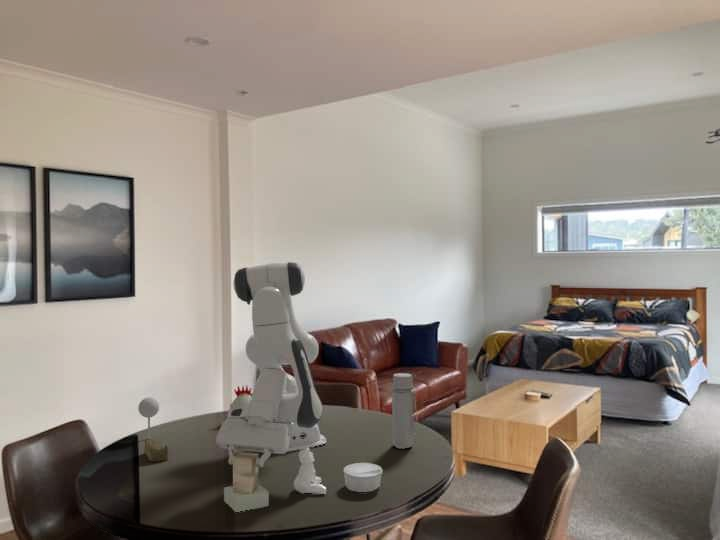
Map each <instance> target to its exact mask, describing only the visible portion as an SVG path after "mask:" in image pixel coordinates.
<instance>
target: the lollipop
mask: <svg viewBox="0 0 720 540" xmlns="http://www.w3.org/2000/svg"><path fill="white" fill-rule="evenodd" d="M159 411H160V403H159V402H158V400H157V399H156V398H154V397H145V398H143V399H142V400H141V401H140V402H139V404H138V413H139V415H140V416H142V417H144V418H147V440H150V439H151V422H150V421H151V418H153V417H154V416H156V415H157V414H158V413H159Z"/></svg>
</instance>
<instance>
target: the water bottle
mask: <svg viewBox="0 0 720 540" xmlns="http://www.w3.org/2000/svg"><path fill="white" fill-rule="evenodd" d="M391 389H392V392H391V393H392V394H391V395H392V396H391V401H392V403H391V408H392V409H391V412H392V413H391V414H392V415H391V417H392V418H391V420H392V421H391V426H392V427H391V430H392V431H391V432H392V434H391V435H392V437H391V440H392V443H393V444H394V445H400V446H403V445H410V444H412V445H413V435H418V432H419V423H418V415H417V414H418V411H417V404H416V397H415V396H416V390H417V389H415V388H414V384H413V376H412V374H410V373H406V372H404V373H403V372H398V373H394V374H393V376H392V385H391ZM415 419H416V433H415V431H414V430H415V429H414V425H415V423H414V422H415ZM392 443H391V444H392Z"/></svg>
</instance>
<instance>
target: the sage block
mask: <svg viewBox="0 0 720 540" xmlns="http://www.w3.org/2000/svg"><path fill="white" fill-rule="evenodd" d="M269 493H270V492H269V491H268V490H267V489H266V488H264V487H263V486H262V485H261V484H260V483H259V482H258V488H257V489H255V490H254V491H253V492H252V493H251V494H249V493H238V492H233V485H231V486H226V487H223V495H224V496H223V501H224V503H226V505H227V504H228V505H229V506H230V507H231V508H232V509H233V510H234V511H235V512H239V513H241V512H240V511H243V512H246V511H245V510H248V511H251V510H250V509H252V510H255V509H256V510H257V509H260V508H264V507H269V506H270V505H269V504H270V503H269V501H270V499H269V498H270V497H269V495H270V494H269ZM228 505H227V506H228ZM229 506H228V507H229ZM230 507H229V508H230ZM231 508H230V509H231ZM232 509H231V510H232ZM233 510H232V511H233ZM234 511H233V512H234ZM235 512H234V513H235Z"/></svg>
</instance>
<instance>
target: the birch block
mask: <svg viewBox="0 0 720 540" xmlns="http://www.w3.org/2000/svg"><path fill="white" fill-rule="evenodd" d="M234 456H235V457H233V465H232V486H233V492H238V493H249V494H251V493H252V492H253V491H254V490H255V489H257V488H258V483H259V467H257V466H256V462H257V458H259V452H257V453H256V452H246V451H243V452H242V451H241V452H239V453H238V454H236V455H234Z"/></svg>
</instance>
